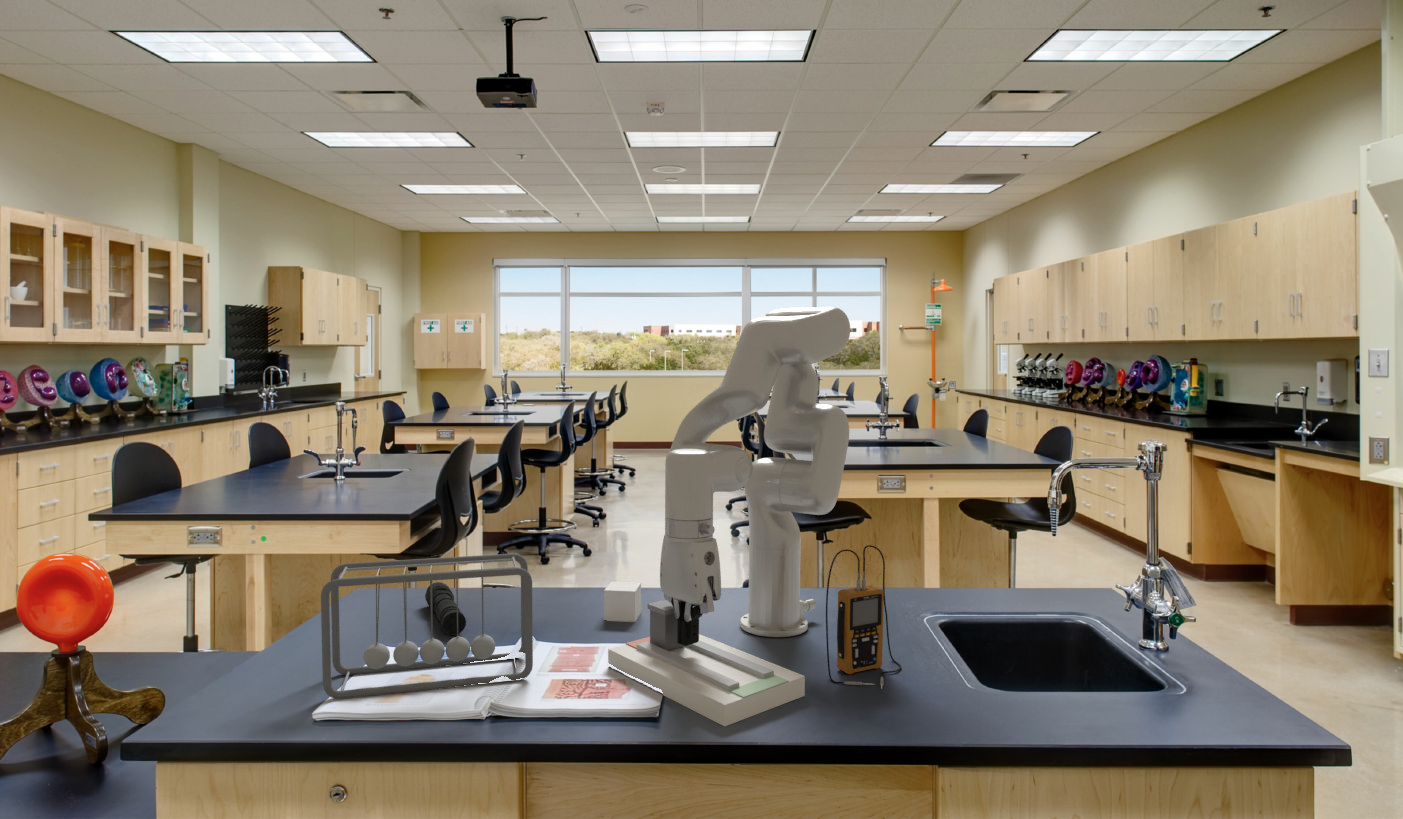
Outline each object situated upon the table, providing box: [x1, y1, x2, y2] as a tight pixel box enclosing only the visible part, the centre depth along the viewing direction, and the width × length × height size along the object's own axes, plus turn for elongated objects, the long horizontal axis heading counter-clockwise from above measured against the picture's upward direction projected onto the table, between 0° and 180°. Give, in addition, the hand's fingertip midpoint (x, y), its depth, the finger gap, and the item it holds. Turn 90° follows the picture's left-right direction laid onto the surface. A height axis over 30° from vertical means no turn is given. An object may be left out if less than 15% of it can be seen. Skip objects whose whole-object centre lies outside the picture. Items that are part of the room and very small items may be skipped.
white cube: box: [603, 581, 642, 623], centre depth 160 cm, size 6×6×6 cm
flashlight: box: [424, 581, 467, 636], centre depth 157 cm, size 5×21×5 cm, turn 26°
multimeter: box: [825, 545, 902, 690], centre depth 130 cm, size 15×10×20 cm
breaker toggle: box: [647, 599, 683, 651], centre depth 135 cm, size 5×5×7 cm
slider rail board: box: [607, 633, 806, 727], centre depth 128 cm, size 16×28×4 cm, turn 41°
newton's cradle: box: [320, 553, 534, 700], centre depth 129 cm, size 30×10×18 cm, turn 106°
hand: (688, 642), depth 131 cm, fingers closed
